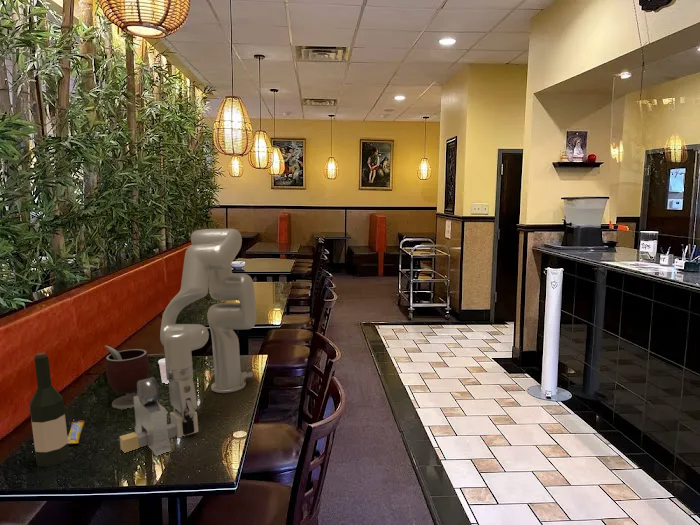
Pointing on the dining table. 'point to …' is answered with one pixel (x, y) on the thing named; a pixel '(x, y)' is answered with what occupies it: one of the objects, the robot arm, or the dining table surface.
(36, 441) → the wine bottle
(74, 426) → the candy bar
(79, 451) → the dining table surface
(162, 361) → the beverage cup
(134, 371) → the mate gourd
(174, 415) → the plug
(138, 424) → the bulkhead
